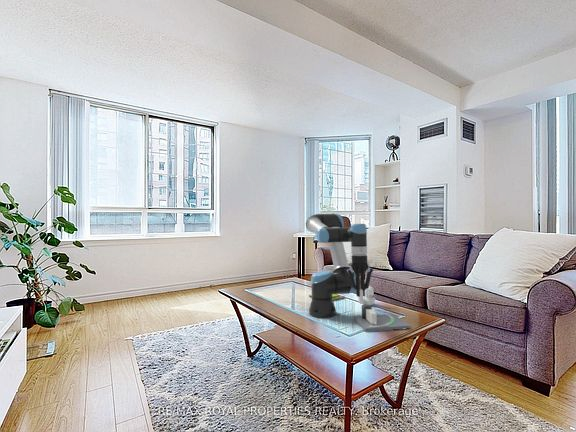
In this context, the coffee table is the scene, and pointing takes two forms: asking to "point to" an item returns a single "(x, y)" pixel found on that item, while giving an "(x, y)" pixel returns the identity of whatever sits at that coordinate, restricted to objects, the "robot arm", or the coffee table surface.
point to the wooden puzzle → (335, 296)
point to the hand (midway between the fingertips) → (360, 303)
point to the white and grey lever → (369, 314)
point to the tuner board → (381, 323)
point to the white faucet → (368, 296)
